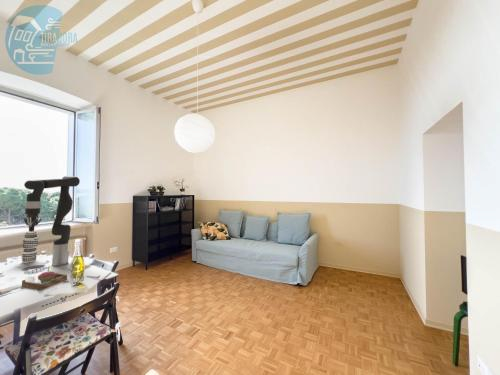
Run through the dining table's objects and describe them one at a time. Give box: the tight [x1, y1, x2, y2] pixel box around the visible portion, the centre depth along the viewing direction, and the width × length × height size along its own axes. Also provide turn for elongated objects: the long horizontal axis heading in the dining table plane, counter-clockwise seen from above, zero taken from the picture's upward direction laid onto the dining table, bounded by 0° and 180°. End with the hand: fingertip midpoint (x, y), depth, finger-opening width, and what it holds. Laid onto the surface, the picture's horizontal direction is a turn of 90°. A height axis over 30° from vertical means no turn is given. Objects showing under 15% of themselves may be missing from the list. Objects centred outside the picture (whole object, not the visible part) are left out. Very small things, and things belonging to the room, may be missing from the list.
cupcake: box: [37, 265, 56, 284], centre depth 138 cm, size 9×8×12 cm
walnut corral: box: [21, 270, 68, 290], centre depth 138 cm, size 16×15×4 cm
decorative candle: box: [21, 230, 39, 264], centre depth 175 cm, size 9×9×25 cm
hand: (31, 231), depth 148 cm, fingers closed
